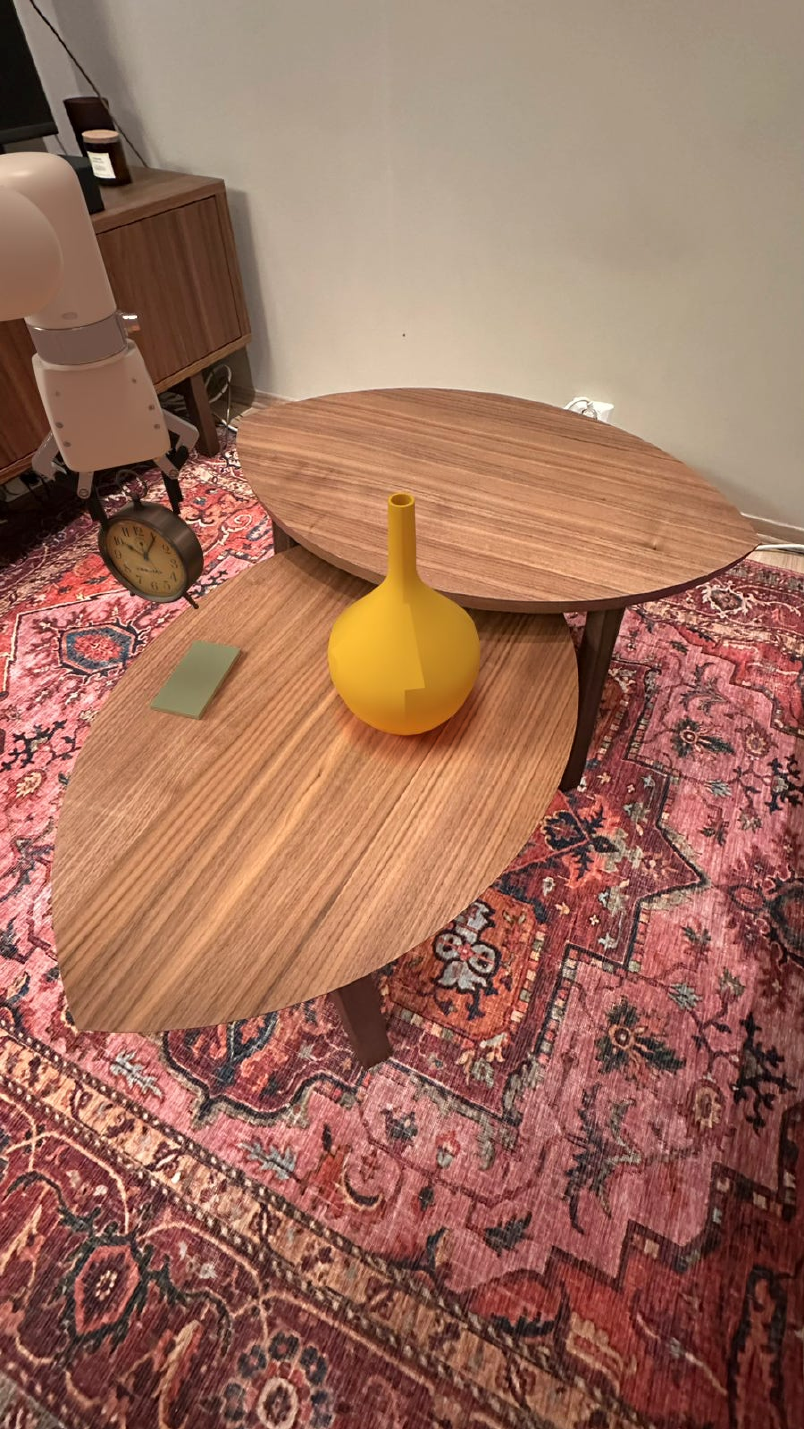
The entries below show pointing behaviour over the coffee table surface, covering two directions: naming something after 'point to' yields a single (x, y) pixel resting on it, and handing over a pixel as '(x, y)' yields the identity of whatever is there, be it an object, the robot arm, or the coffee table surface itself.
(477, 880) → the coffee table surface
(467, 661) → the vase
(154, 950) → the coffee table surface
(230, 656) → the green rectangular slab
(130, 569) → the alarm clock
